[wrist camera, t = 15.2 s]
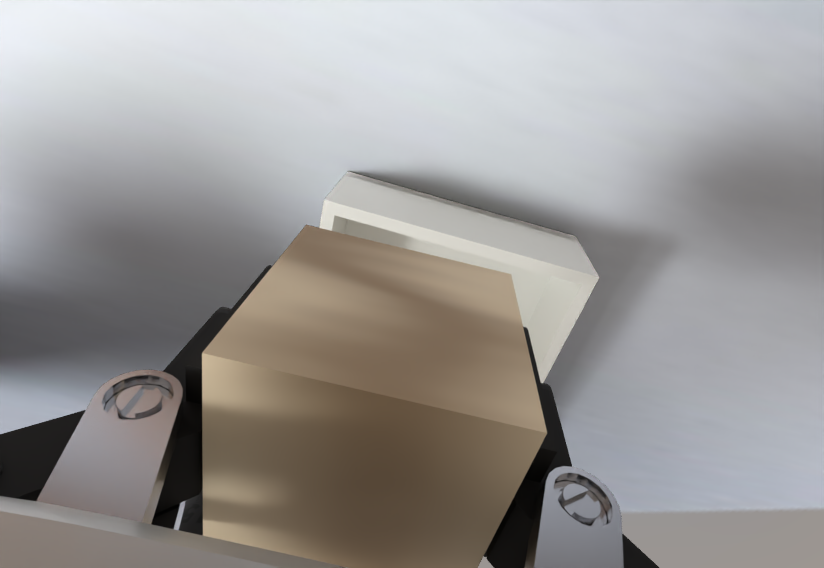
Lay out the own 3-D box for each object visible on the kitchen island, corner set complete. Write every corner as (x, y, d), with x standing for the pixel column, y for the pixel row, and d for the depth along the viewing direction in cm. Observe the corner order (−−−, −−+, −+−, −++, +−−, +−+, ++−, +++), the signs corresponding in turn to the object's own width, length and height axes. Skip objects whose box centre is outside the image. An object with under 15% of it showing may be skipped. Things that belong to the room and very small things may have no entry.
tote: (303, 396, 33) (280, 451, 29) (347, 171, 25) (324, 199, 21) (476, 442, 34) (479, 502, 29) (575, 236, 26) (599, 277, 21)
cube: (287, 382, 13) (202, 555, 9) (305, 225, 11) (202, 353, 6) (455, 421, 13) (455, 610, 9) (511, 273, 11) (547, 432, 7)
